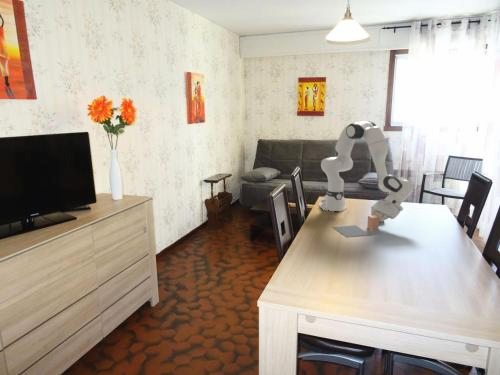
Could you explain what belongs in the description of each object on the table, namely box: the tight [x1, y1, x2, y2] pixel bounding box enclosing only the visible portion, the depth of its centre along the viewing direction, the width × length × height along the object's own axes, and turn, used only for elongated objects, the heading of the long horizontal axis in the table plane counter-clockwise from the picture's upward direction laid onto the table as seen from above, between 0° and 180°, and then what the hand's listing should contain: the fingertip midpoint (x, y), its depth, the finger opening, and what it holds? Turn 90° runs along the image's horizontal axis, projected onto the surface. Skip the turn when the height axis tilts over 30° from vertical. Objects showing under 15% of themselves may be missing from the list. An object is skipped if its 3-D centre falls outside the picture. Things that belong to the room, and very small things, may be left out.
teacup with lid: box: [370, 205, 384, 223], centre depth 233 cm, size 12×9×12 cm
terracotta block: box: [366, 214, 380, 231], centre depth 214 cm, size 5×4×8 cm
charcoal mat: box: [332, 225, 372, 238], centre depth 210 cm, size 18×16×1 cm
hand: (376, 218), depth 214 cm, fingers open, 8 cm apart
